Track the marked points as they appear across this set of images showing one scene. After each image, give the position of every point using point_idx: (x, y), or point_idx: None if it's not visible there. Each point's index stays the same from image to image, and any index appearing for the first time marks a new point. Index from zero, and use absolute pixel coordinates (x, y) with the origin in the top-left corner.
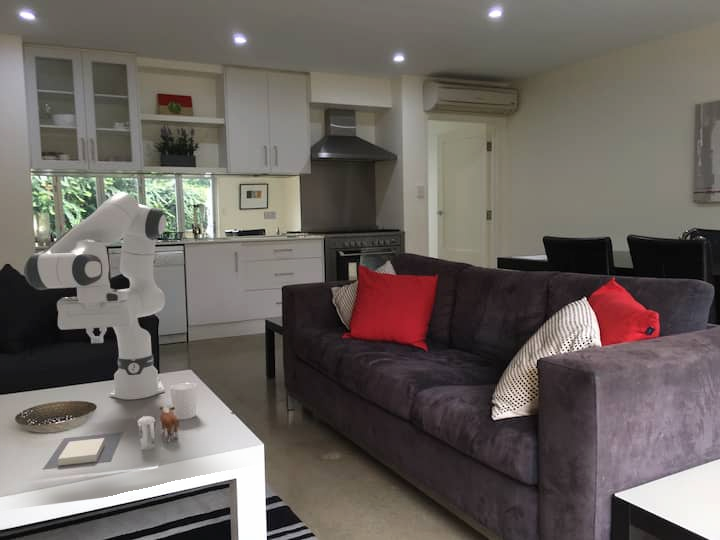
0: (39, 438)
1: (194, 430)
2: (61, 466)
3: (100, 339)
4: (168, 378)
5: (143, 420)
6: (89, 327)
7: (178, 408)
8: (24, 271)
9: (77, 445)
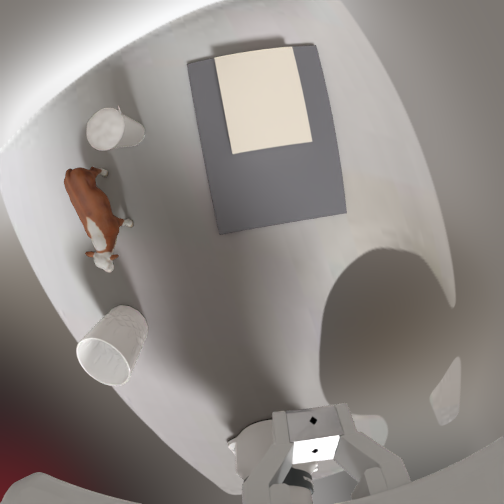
0: (397, 233)
1: (80, 238)
2: None
3: (281, 428)
4: None
5: (104, 112)
6: (386, 494)
7: (120, 317)
8: None
9: (281, 112)
